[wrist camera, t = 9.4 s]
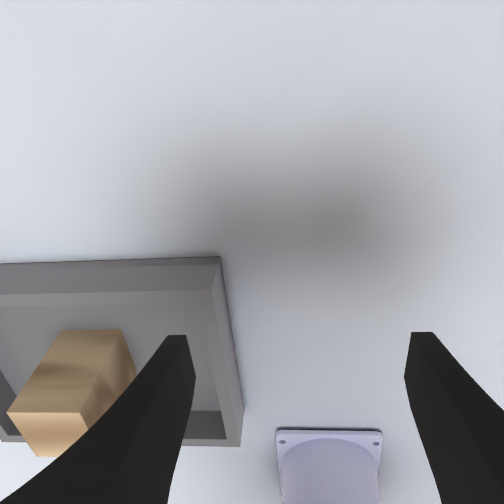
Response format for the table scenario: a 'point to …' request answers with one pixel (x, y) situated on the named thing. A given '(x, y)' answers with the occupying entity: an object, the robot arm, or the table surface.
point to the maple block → (72, 388)
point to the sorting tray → (126, 328)
